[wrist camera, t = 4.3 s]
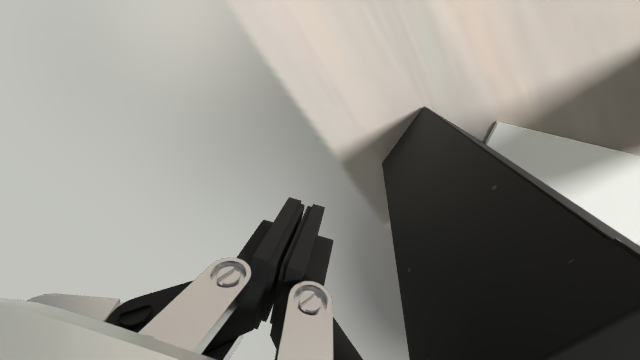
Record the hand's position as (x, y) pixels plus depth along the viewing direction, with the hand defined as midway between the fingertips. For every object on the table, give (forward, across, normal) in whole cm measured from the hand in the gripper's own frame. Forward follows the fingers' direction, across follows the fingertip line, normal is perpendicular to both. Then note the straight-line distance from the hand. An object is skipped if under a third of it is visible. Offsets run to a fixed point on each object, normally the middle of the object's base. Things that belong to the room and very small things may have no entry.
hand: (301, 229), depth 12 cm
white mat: (+20, -25, +2) cm, 32 cm away
